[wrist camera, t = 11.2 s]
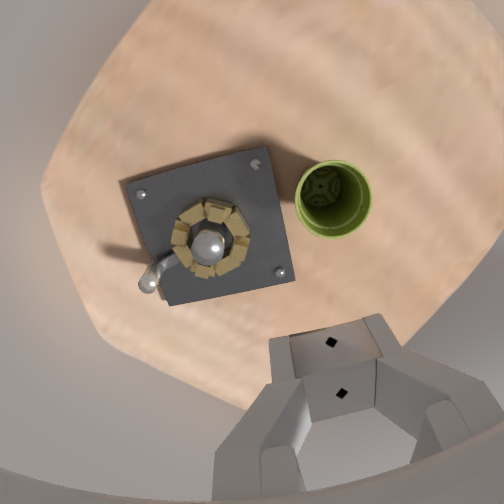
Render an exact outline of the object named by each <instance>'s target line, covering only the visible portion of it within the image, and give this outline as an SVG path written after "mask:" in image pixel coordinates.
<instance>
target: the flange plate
mask: <svg viewBox="0 0 504 504" xmlns="http://www.w3.org/2000/svg"><path fill="white" fill-rule="evenodd" d="M125 186H126V189H127V192H128V195H129V198H130V201H131V205H132V208H133V211H134V214H135V216H136V219H137V222H138V225H139V228H140V231H141V234H142V237H143V239H144V242H145V245H146V248H147V250H148V253H149V256H150V259H151V261H152V260H161V259H163V258H165V257H166V256H168V255H170V254H171V253H173V252H174V250H173V249H172V248H173V246H174V244H171V239H172V233H173V229H174V226H175V221H176V219H177V217H178V216H179V215H180V213H181V212H182V210H184V209H186V208H187V207H189V206H191V205H192V204H194V203H196V202H197V201H199V200H201V199H202V198H203V199H204V200H205V202H206V201H207V199H208V198H212V199H216V200H220V201H224V202H228V203H232V204H233V205H232V209H234V208H235V207H237V208H238V209H239V211H240V213H241V214H242V216H243V218H244V219H245V221H246V223H247V224H248V226H249V227H250V242H249V245H248V249H247V253H246V256H245V260H244V262H243V261H241V265H240V266H238V267H236V268H234V269H233V270H231V271H229V272H227V273H225V274H223V275H221V276H218V274H217V273H216V272H215V276H214V277H212V276H208V279H205V278H201V277H197V276H195V272H192V271H190V270H191V266H189V267H188V268H185V266H184V265H183V263H182V262H179V263H177V264H175V265H174V266H172V267H170V268H168V269H166V270H165V271H164V272H163V274H162V276H161V278H160V281H159V282H160V285H161V287H162V290H163V292H164V295H165V297H166V300H167V302H168V304H169V306H175V305H180V304H185V303H190V302H196V301H201V300H206V299H211V298H216V297H221V296H226V295H231V294H236V293H241V292H245V291H250V290H255V289H260V288H264V287H269V286H274V285H278V284H283V283H288V282H292V281H296V280H295V275H294V270H293V265H292V260H291V255H290V250H289V245H288V240H287V235H286V230H285V226H284V221H283V216H282V211H281V207H280V202H279V197H278V193H277V188H276V184H275V179H274V175H273V170H272V166H271V161H270V157H269V152H268V148H267V146H261V147H257V148H252V149H248V150H244V151H239V152H235V153H231V154H227V155H223V156H219V157H215V158H211V159H207V160H204V161H200V162H196V163H192V164H189V165H185V166H182V167H178V168H175V169H171V170H168V171H164V172H161V173H158V174H154V175H151V176H148V177H145V178H141V179H138V180H135V181H132V182H129V183H127V184H126V185H125ZM189 238H190V240H191V241H192V243H193V244H192V246H191V253H192V256H193V258H194V259H195V260H196V261H197V262H198V263H200V264H202V265H206V266H210V265H214V264H216V263H218V262H219V261H220V260H221V259H222V257H223V253H224V251H226V250H228V249H230V248H231V245H232V241H233V238H234V236H233V235H232V233H231V232H230V230H229V229H228V227H227V225H226V224H225V222H222V224H220V223H216V222H212V221H208V218H204V219H203V220H201V221H199V222H197V223H196V224H194V225H192V227H191V231H190V236H189Z"/></svg>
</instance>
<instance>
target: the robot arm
mask: <svg viewBox="0 0 504 504" xmlns="http://www.w3.org/2000/svg"><path fill="white" fill-rule="evenodd" d="M289 340H290V341H289ZM269 353H270V364H271V375H272V383H271V384H266V386H265V387H264V388H263V390H262V391H261V393H260V394H259V395H258V397H257V398H256V399H255V401H254V402H253V404H252V405H251V406H250V408H249V409H248V410H247V412H246V413H245V414H244V416H243V417H242V418H241V420H240V421H239V422H238V423H237V425H236V426H235V427H234V429H233V430H232V431H231V433H230V434H229V435H228V436H227V438H226V439H225V440H224V441H223V443H222V444H221V445H220V446H219V448H218V449H217V450H216V452H215V459H214V472H213V473H214V474H213V487H212V501H168V500H152V499H140V498H130V497H121V496H113V495H107V494H101V493H95V492H89V491H83V490H79V489H74V488H69V487H64V486H60V485H56V484H52V483H49V482H45V481H41V480H37V479H34V478H31V477H27V476H24V475H21V474H18V473H15V472H12V471H9V470H6V469H3V468H0V504H504V411H503V409H502V408H501V406H500V405H499V403H498V402H497V400H496V399H495V398H494V396H493V394H492V393H491V391H490V390H489V389H488V387H487V386H486V384H485V383H484V381H482V380H479V379H477V378H475V377H472V376H470V375H467V374H465V373H463V372H460V371H458V370H456V369H453V368H451V367H449V366H446V365H444V364H442V363H440V362H437V361H435V360H433V359H430V358H428V357H426V356H424V355H421V354H419V353H416V352H414V351H412V350H410V349H407V350H403V349H402V347H401V345H400V344H399V342H398V340H397V339H396V337H395V335H394V334H393V332H392V330H391V329H390V327H389V326H388V324H387V322H386V321H385V319H384V317H383V316H382V314H380V313H377V314H374V315H371V316H367V317H364V318H362V319H359V320H355V321H351V322H347V323H343V324H339V325H335V326H331V327H327V328H322V329H317V330H312V331H307V332H302V333H297V334H292V335H289V337H288V336H283V337H277V338H272V339H269ZM373 407H375V409H376V410H378V411H379V412H380V413H382V414H383V415H384V416H385V417H387V418H388V419H389V420H391V421H392V422H394V423H395V424H396V425H398V426H399V427H400V428H402V429H403V430H404V431H406V432H407V433H409V434H410V435H412V436H413V437H414V438H416V439H417V443H416V446H415V449H414V452H413V455H412V458H411V461H410V464H408V465H405V466H402V467H399V468H397V469H394V470H390V471H387V472H384V473H381V474H378V475H375V476H371V477H367V478H364V479H360V480H357V481H353V482H349V483H345V484H340V485H336V486H332V487H327V488H322V489H317V490H312V491H306V489H305V485H304V481H303V478H302V474H301V471H300V468H299V464H298V461H297V457H296V456H297V454H298V452H299V450H300V448H301V446H302V444H303V442H304V440H305V438H306V436H307V434H308V431H309V429H310V427H311V423H313V422H317V421H321V420H326V419H330V418H334V417H337V416H341V415H345V414H349V413H353V412H358V411H362V410H365V409H369V408H373Z"/></svg>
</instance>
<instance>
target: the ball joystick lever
mask: <svg viewBox="0 0 504 504" xmlns="http://www.w3.org/2000/svg"><path fill="white" fill-rule="evenodd" d="M232 205H233V204H232V203H228V202H224V201H220V200H216V199H212V198H208V199H207V201H206V202H205V200H204V199H203V198H202V199H201V200H199V201H197V202H196V203H194V204H192V205H191V206H189V207H187V208H186V209H184V210H182V212H181V213H180V215H179V216H178V217H177V219H176V221H175V226H174V229H173V233H172V239H171V244H174V246H173V248H172V249H173V250H174V252H173V253H171V254H170V255H168V256H166V257H165V258H163V259H161V260H152V261H151V262H150V264H149V265H148V267H147V269H146V270H145V272H144V274H143V275H142V277H141V279H140V280H139V282H138V286H139V289H140V290H141V291H142V292H144V293H146V294H150V293H153V292H154V291H155V289H156V287H157V285H158V283H159V281H160V278H161V276H162V274H163V272H164V271H165V270H166V269H168V268H170V267H172V266H174V265H175V264H177V263H179V262H182V263H183V265H184V266H185V268H188V267H189V266H191V270H190V271H192V272H195V276H197V277H201V278H205V279H208V276H212V277H214V276H215V272H216V273H217V274H218V276H221V275H223V274H225V273H227V272H229V271H231V270H233V269H234V268H236V267H238V266H240V265H241V261H243V262H244V260H245V256H246V253H247V249H248V245H249V242H250V227H249V226H248V224H247V223H246V221H245V219H244V218H243V216H242V214H241V213H240V211H239V209H238V208H237V207H235V208H234V209H232ZM204 218H208V221H212V222H216V223H220V224H222V222H225V224H226V225H227V227H228V229H229V230H230V232H231V233H232V235H233V236H234V238H233V241H232V245H231V248H230V249H228V250H226V251H224V253H223V257H222V259H221V260H220V261H219V262H218V263H216V264H214V265H210V266H206V265H202V264H200V263H198V262H197V261H196V260H195V259H194V258H193V256H192V253H191V246H192V244H193V243H192V241H191V240H190V238H189V236H190V231H191V227H192V225H194V224H196V223H197V222H199V221H201V220H203V219H204Z"/></svg>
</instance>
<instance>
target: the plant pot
mask: <svg viewBox="0 0 504 504" xmlns="http://www.w3.org/2000/svg"><path fill="white" fill-rule="evenodd" d="M317 168H320V169H321V168H324V169H326V171H322V170H318V171H317V170H316V169H317ZM304 181H305V190H303V189H302V185H303V183H304ZM336 182H337V185H338V188H337V191H335V184H336ZM319 185H322V186H323V187H322V188H319ZM372 199H373V196H372V189H371V186H370V183H369V181H368V179H367V177H366V176H365V174H364V173H363V172H362V171H361V170H360V169H359V168H357V167H356V166H355V165H353V164H351V163H348V162H345V161H341V160H328V161H324V162H321V163H319V164H316V165H314V166H311V167H309V168H308V169H307V170H305V171H304V173H303V174H302V175H301V177H300V180H299V183H298V186H297V188H296V192H295V208H296V212H297V215H298V218H299V220H300V221H301V223H302V224H303V226H304V227H305V228H306V229H307V230H308V231H309V232H311V233H312V234H314V235H316V236H318V237H321V238H325V239H340V238H343V237H346V236H348V235H351V234H352V233H354V232H355V231H357V230H358V229H359V228H360V227H361V226H362V225H363V224H364V223H365V221H366V220H367V218H368V216H369V214H370V211H371V208H372ZM315 201H324V202H323V203H321V204H317V203H315Z"/></svg>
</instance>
